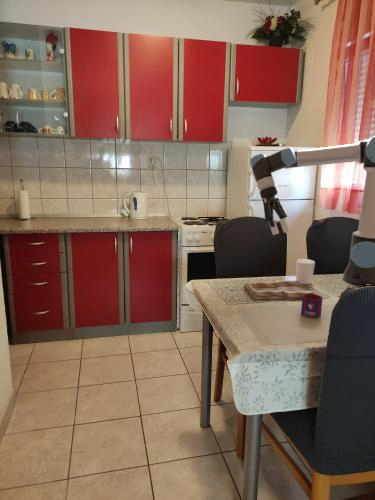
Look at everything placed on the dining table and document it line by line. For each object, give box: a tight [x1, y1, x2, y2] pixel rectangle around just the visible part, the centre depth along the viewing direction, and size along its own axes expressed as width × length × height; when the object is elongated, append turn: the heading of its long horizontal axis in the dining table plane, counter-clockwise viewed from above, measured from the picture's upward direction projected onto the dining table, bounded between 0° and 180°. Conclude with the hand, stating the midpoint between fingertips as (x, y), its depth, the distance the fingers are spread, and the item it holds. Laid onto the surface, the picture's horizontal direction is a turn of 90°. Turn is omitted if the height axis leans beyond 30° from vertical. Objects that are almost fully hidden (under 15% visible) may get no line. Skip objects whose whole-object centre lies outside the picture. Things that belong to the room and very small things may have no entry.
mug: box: [300, 292, 323, 319], centre depth 130 cm, size 7×10×7 cm
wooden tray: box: [243, 279, 314, 301], centre depth 152 cm, size 24×17×3 cm
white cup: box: [295, 258, 316, 285], centre depth 165 cm, size 8×8×10 cm
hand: (281, 233), depth 163 cm, fingers open, 13 cm apart
